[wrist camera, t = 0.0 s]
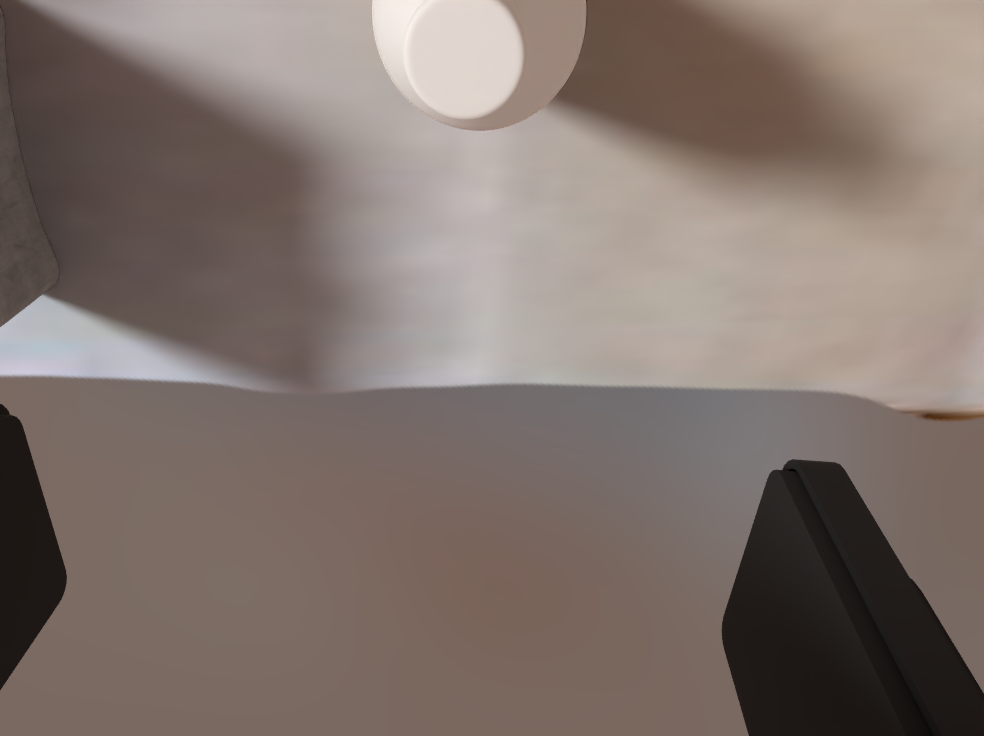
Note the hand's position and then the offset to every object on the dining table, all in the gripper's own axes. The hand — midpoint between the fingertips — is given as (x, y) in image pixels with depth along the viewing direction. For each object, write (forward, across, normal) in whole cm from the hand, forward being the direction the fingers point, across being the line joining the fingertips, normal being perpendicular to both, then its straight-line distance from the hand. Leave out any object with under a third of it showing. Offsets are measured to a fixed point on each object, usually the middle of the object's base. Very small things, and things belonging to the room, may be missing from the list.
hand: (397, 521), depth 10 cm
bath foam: (+31, 0, -4) cm, 32 cm away
